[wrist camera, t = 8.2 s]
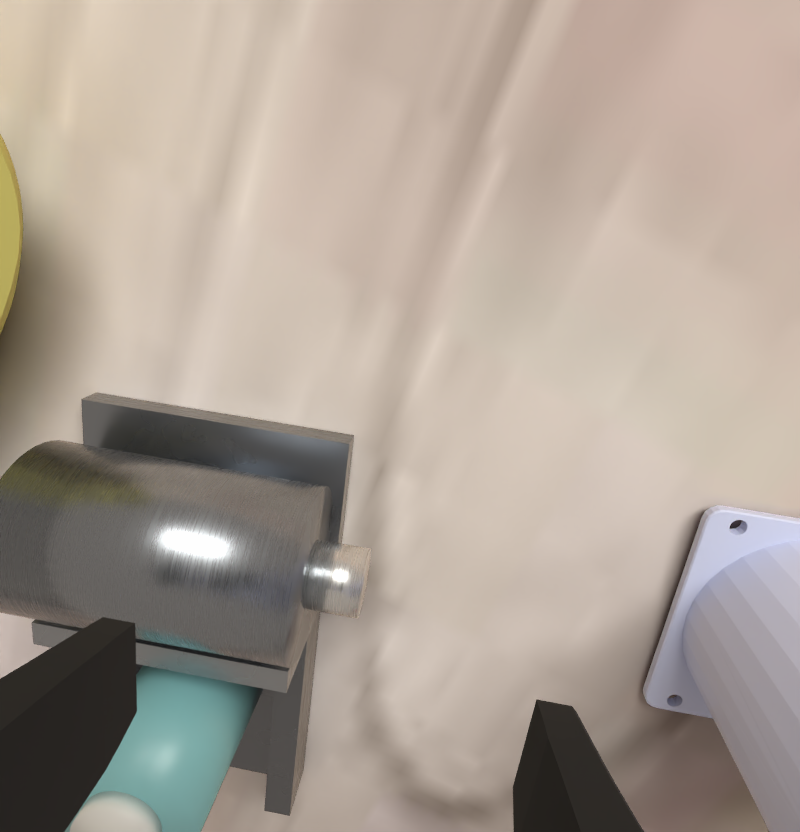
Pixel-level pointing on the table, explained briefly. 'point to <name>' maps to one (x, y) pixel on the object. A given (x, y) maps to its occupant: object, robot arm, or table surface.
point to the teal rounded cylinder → (170, 755)
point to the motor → (191, 553)
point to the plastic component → (9, 232)
